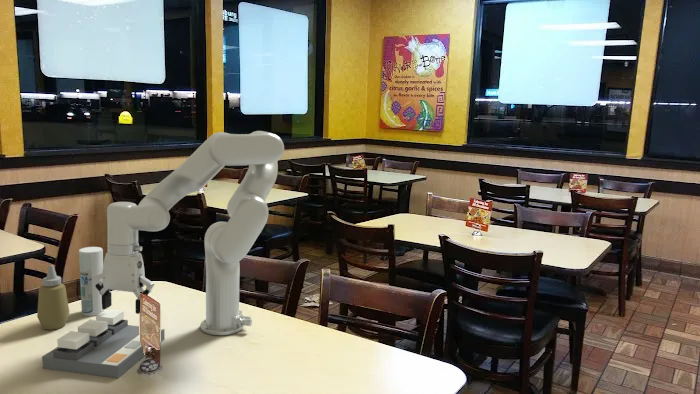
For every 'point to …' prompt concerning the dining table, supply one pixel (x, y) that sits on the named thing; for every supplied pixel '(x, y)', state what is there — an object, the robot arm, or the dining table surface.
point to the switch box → (101, 352)
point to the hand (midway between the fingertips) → (123, 309)
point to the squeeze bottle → (52, 302)
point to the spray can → (90, 280)
